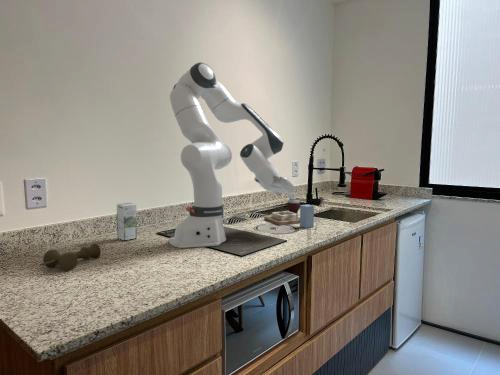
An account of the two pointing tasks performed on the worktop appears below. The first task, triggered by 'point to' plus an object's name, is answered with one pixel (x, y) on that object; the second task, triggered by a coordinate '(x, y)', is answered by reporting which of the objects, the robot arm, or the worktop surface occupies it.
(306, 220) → the slate block
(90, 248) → the kendama
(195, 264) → the worktop surface
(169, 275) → the worktop surface
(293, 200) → the mate gourd
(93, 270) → the worktop surface
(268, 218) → the walnut base board
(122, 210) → the syrup box
